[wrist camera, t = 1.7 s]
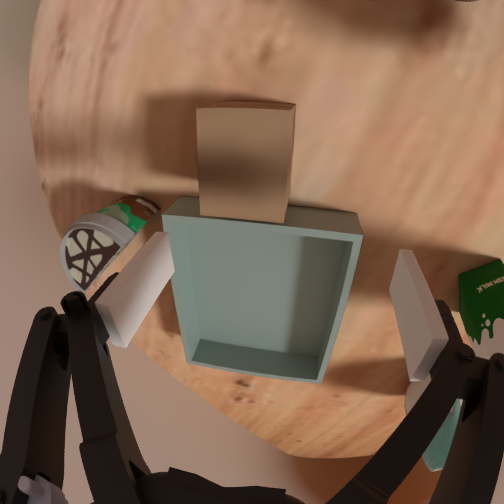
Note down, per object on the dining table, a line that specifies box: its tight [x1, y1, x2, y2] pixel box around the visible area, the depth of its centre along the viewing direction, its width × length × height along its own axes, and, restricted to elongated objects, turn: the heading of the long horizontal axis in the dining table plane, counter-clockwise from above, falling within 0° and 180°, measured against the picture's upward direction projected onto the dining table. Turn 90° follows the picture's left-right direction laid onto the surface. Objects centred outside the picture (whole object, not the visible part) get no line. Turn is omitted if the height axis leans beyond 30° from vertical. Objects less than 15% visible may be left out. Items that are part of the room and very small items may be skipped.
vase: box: [404, 373, 463, 471], centre depth 35 cm, size 12×12×18 cm
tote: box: [161, 196, 363, 384], centre depth 36 cm, size 24×20×5 cm
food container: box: [60, 195, 161, 293], centre depth 32 cm, size 12×6×10 cm, turn 132°
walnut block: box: [196, 101, 296, 223], centre depth 26 cm, size 9×7×8 cm
